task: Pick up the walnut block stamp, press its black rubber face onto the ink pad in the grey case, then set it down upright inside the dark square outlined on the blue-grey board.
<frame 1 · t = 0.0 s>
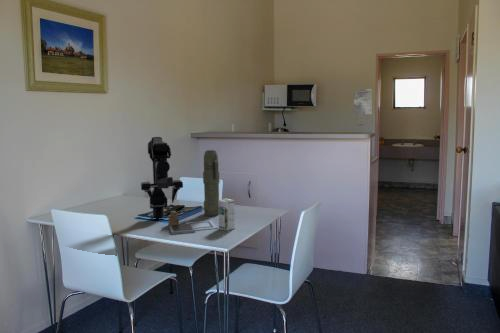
hand: (162, 203, 206), 15 cm above the table, fingers open, 9 cm apart
syrup box: (226, 229, 215), on the table
ink pad: (182, 230, 214), on the table
board: (201, 225, 221), on the table
stamp: (173, 226, 221), on the table
thermos: (212, 214, 243), on the table
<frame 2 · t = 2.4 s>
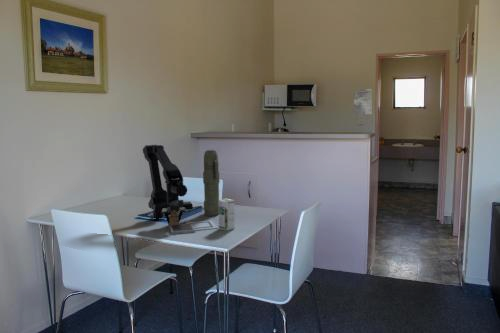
hand: (173, 223, 221), 1 cm above the table, fingers closed on stamp, 4 cm apart
stamp: (173, 226, 221), on the table, touching gripper
everything else where it was.
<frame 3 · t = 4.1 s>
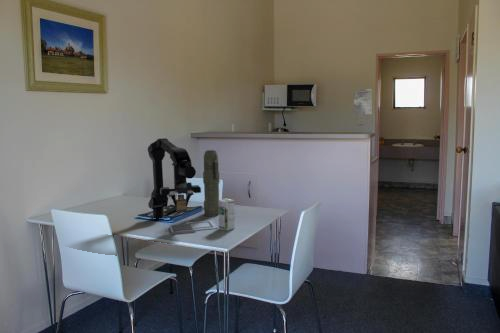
hand: (181, 207, 213), 11 cm above the table, fingers closed on stamp, 4 cm apart
stamp: (181, 210, 213), point 10 cm above the table, touching gripper
everything else where it was.
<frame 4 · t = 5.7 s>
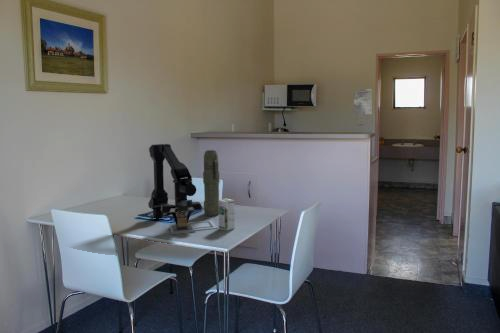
hand: (181, 224, 214), 3 cm above the table, fingers closed on stamp, 4 cm apart
stamp: (181, 226, 214), point 2 cm above the table, touching gripper
everything else where it was.
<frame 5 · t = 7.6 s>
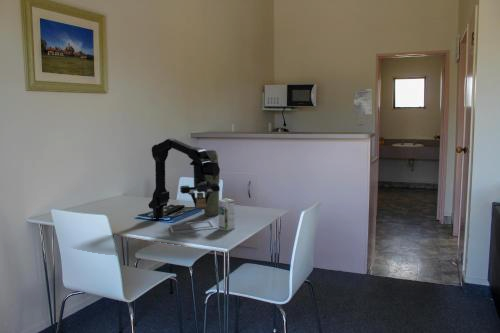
hand: (200, 205, 219), 10 cm above the table, fingers closed on stamp, 4 cm apart
stamp: (200, 208, 219), point 9 cm above the table, touching gripper
everything else where it was.
when the fingers open (3 cm above the table, at t = 9.2 s): stamp stays where it is, resting on board.
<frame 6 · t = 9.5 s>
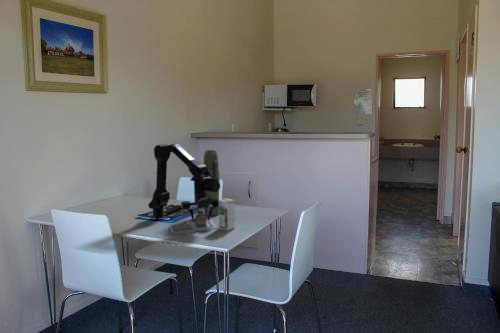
hand: (200, 220, 220), 3 cm above the table, fingers open, 7 cm apart
stamp: (201, 225, 221), resting on board
everything else where it was.
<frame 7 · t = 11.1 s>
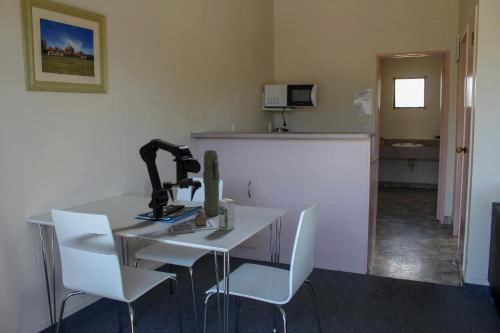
hand: (182, 201, 223), 12 cm above the table, fingers open, 9 cm apart
nothing on the table moved.
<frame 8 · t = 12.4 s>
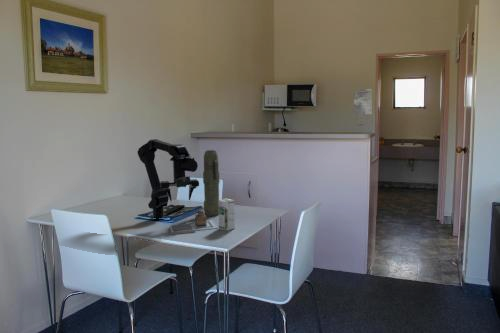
hand: (180, 200, 223), 12 cm above the table, fingers open, 9 cm apart
nothing on the table moved.
at the end: stamp inside the target area on the board (0.1 cm from its centre), point 0.4 cm above the board's base; stamp tilted 0°; the gripper is holding nothing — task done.
